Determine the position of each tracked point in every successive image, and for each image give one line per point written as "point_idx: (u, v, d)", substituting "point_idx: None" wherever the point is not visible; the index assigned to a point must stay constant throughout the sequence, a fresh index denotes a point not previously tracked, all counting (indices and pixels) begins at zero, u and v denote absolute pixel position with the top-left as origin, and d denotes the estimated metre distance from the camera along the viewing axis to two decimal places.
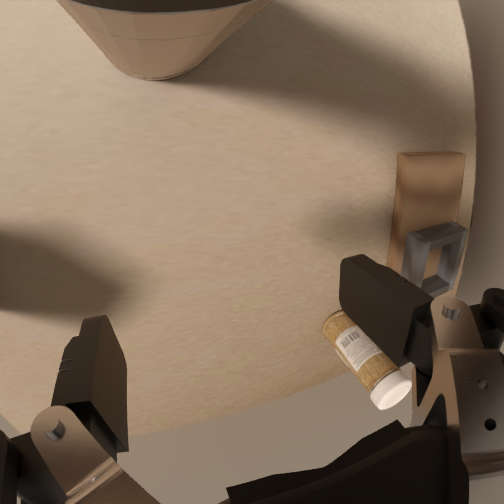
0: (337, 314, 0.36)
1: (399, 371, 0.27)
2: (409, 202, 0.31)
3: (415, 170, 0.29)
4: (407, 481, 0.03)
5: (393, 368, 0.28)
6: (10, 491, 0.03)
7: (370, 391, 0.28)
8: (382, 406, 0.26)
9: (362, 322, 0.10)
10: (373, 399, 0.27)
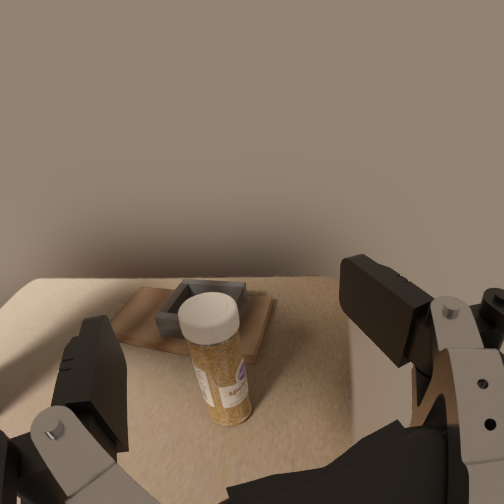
0: None
1: None
2: (134, 332, 0.38)
3: (116, 326, 0.40)
4: (407, 481, 0.03)
5: None
6: (10, 491, 0.03)
7: (201, 346, 0.22)
8: (206, 322, 0.21)
9: (362, 322, 0.10)
10: (202, 338, 0.21)
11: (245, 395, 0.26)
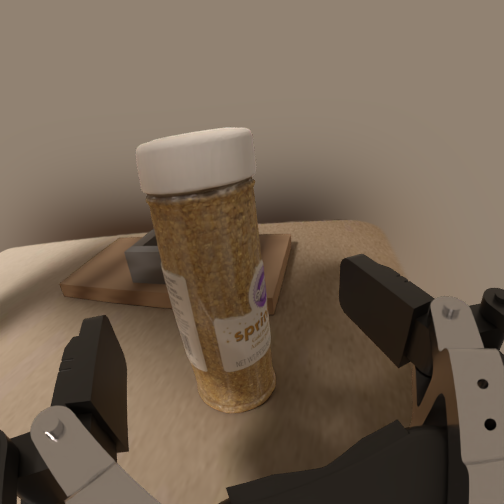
0: None
1: None
2: (99, 281, 0.27)
3: (78, 277, 0.28)
4: (407, 481, 0.03)
5: None
6: (10, 491, 0.03)
7: (174, 200, 0.10)
8: (189, 135, 0.09)
9: (362, 322, 0.10)
10: (177, 173, 0.09)
11: (266, 347, 0.14)
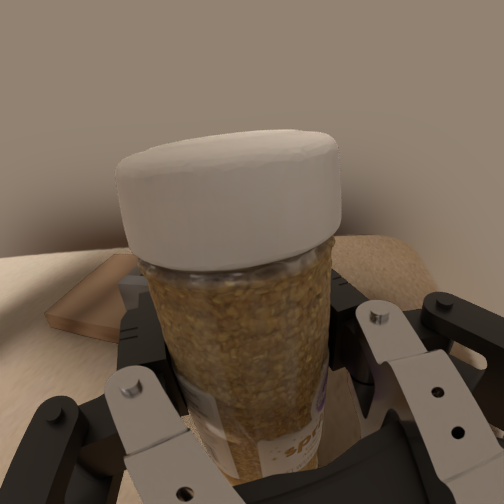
0: None
1: None
2: (90, 314, 0.22)
3: (65, 306, 0.23)
4: None
5: None
6: (68, 464, 0.04)
7: (196, 282, 0.05)
8: (228, 144, 0.04)
9: None
10: (202, 231, 0.04)
11: (318, 444, 0.09)
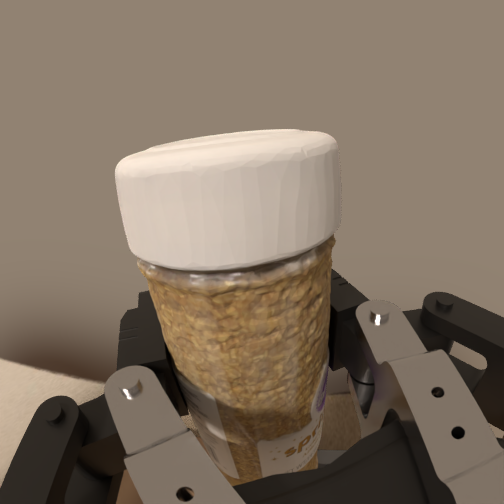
0: None
1: None
2: None
3: None
4: None
5: None
6: (68, 464, 0.04)
7: (196, 282, 0.05)
8: (228, 144, 0.04)
9: None
10: (202, 231, 0.04)
11: (318, 444, 0.09)
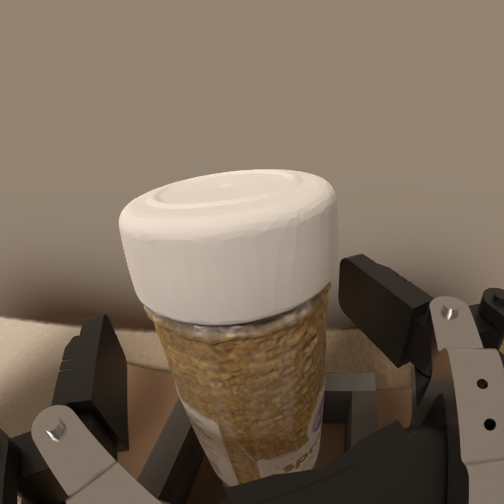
0: None
1: None
2: None
3: None
4: (407, 481, 0.03)
5: None
6: (11, 491, 0.03)
7: (200, 333, 0.05)
8: (227, 209, 0.05)
9: (361, 322, 0.10)
10: (204, 293, 0.05)
11: (315, 458, 0.09)
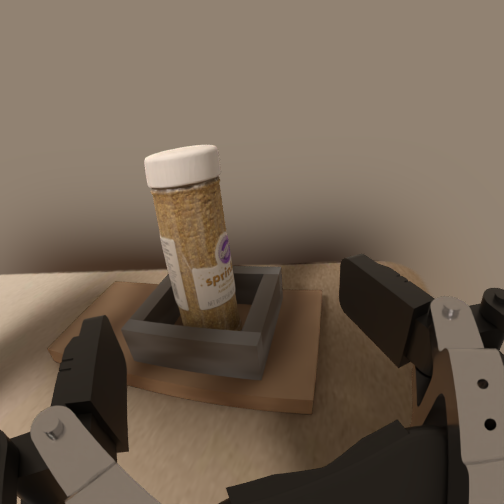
0: None
1: None
2: None
3: (68, 341, 0.22)
4: (407, 481, 0.03)
5: None
6: (10, 491, 0.03)
7: (168, 191, 0.16)
8: (176, 153, 0.16)
9: (362, 322, 0.10)
10: (169, 175, 0.16)
11: (230, 294, 0.21)
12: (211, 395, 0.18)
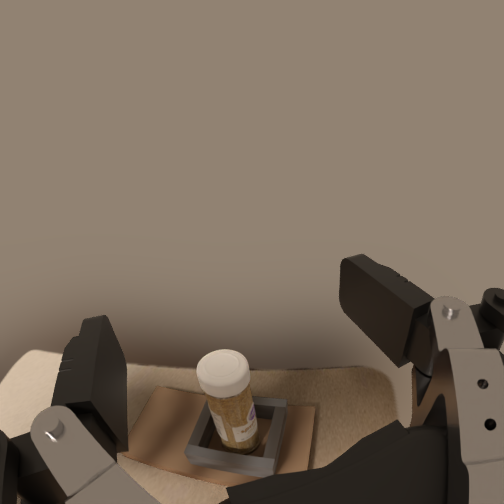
0: None
1: None
2: (159, 457, 0.28)
3: (135, 445, 0.30)
4: (407, 481, 0.03)
5: None
6: (10, 491, 0.03)
7: (217, 398, 0.24)
8: (222, 380, 0.23)
9: (362, 322, 0.10)
10: (218, 393, 0.23)
11: (254, 430, 0.28)
12: None
